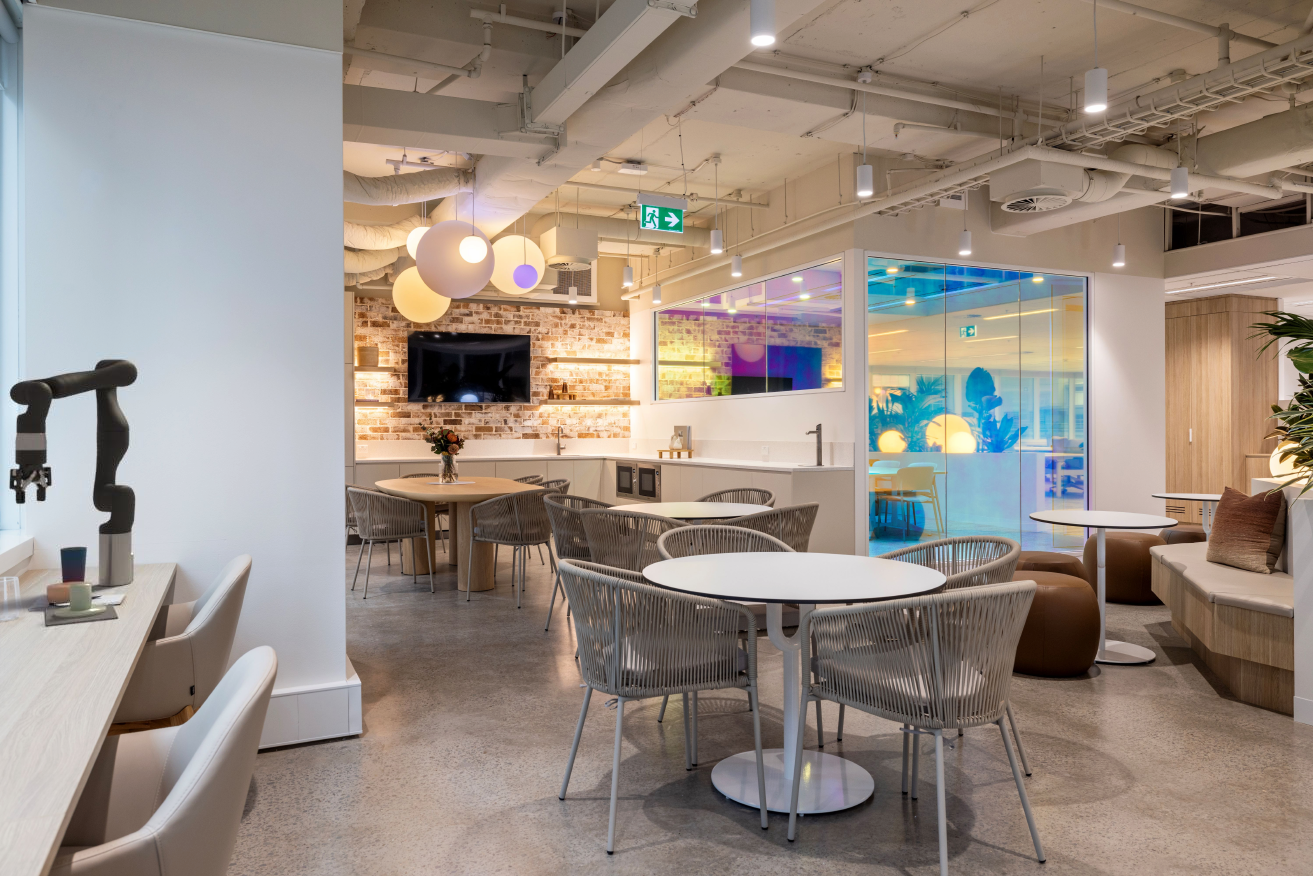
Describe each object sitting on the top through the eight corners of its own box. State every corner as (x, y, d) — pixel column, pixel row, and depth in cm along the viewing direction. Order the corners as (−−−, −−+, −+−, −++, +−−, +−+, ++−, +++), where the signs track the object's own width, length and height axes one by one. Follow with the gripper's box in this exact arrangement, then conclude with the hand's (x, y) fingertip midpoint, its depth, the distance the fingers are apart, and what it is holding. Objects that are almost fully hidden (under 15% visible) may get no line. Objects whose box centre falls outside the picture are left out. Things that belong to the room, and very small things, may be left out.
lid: (79, 607, 242) (79, 579, 241) (116, 609, 240) (116, 581, 240) (43, 617, 230) (43, 587, 230) (82, 619, 228) (82, 589, 228)
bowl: (68, 598, 255) (68, 580, 255) (100, 600, 253) (100, 582, 253) (37, 606, 244) (37, 587, 244) (70, 608, 243) (70, 589, 242)
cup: (92, 594, 262) (92, 547, 261) (74, 598, 255) (75, 550, 255) (72, 593, 262) (72, 546, 262) (54, 598, 256) (54, 549, 255)
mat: (45, 610, 239) (45, 609, 239) (111, 604, 248) (111, 602, 248) (46, 626, 221) (46, 624, 221) (118, 618, 231) (118, 617, 231)
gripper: (26, 449, 242) (26, 504, 242) (60, 447, 256) (60, 500, 256) (0, 448, 241) (0, 504, 242) (35, 447, 256) (35, 500, 256)
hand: (31, 502), depth 249 cm, fingers open, 8 cm apart
